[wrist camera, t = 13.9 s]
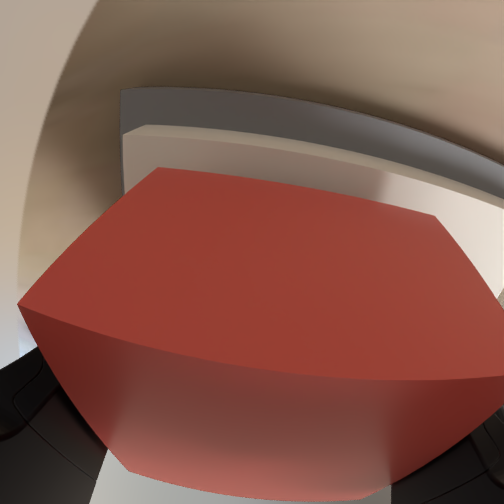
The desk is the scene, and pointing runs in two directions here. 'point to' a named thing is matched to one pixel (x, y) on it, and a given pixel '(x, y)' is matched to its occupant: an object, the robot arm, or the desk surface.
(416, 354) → the red block
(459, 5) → the desk surface
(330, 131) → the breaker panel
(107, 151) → the desk surface
